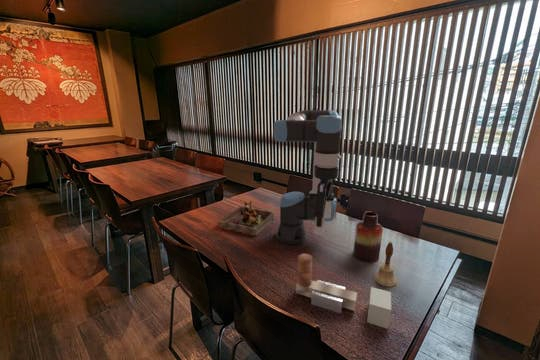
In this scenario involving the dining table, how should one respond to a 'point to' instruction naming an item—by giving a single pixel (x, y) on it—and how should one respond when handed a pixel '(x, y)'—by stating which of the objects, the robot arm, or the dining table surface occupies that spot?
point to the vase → (368, 238)
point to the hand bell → (386, 270)
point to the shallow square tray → (249, 230)
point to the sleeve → (327, 299)
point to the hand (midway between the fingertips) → (322, 225)
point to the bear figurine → (249, 217)
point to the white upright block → (379, 307)
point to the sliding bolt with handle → (320, 284)
